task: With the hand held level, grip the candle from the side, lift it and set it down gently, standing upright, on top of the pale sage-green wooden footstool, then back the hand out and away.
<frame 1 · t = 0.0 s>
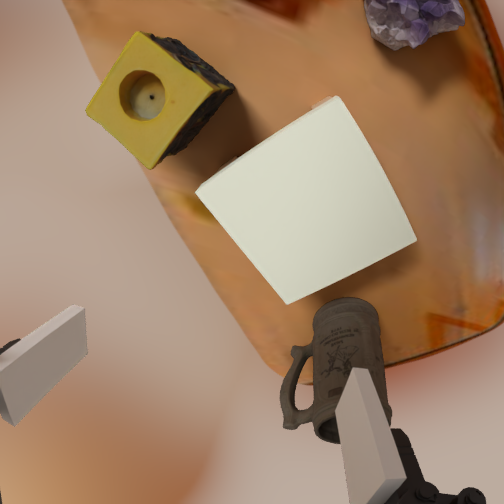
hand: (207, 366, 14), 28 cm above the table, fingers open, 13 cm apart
footstool: (309, 183, 37), on the table
beer stein: (332, 326, 49), on the table
candle: (180, 93, 34), on the table
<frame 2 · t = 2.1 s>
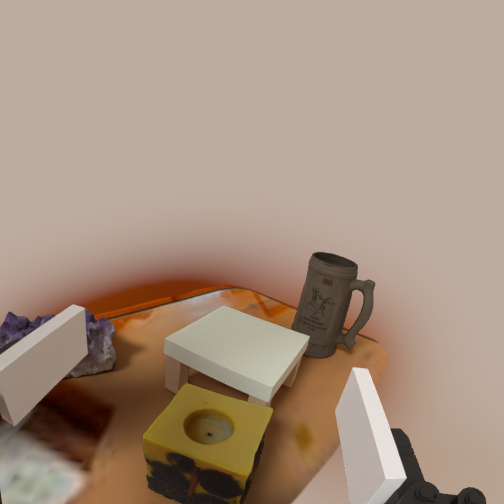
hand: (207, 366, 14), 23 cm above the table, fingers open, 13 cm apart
footstool: (233, 385, 47), on the table
beer stein: (321, 349, 63), on the table
candle: (205, 478, 29), on the table
geode: (57, 366, 41), on the table
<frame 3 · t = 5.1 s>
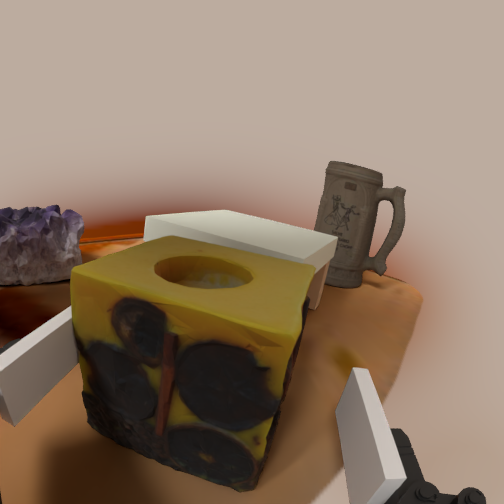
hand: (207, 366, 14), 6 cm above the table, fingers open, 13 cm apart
footstool: (239, 304, 36), on the table
beer stein: (344, 282, 53), on the table
candle: (195, 416, 18), on the table
geode: (7, 277, 30), on the table
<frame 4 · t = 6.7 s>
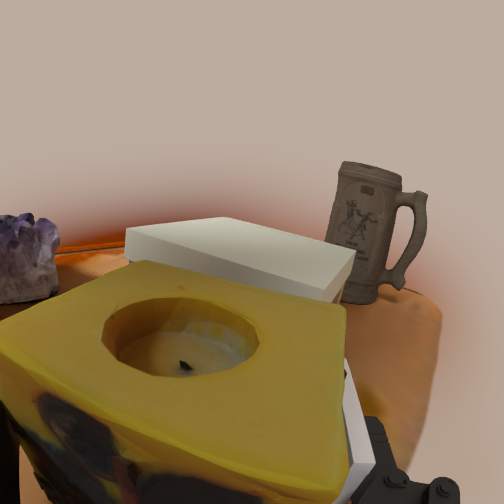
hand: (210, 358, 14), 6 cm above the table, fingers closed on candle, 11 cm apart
footstool: (240, 330, 30), on the table
beer stein: (357, 296, 47), on the table
candle: (183, 491, 12), on the table, touching gripper
when the fingers open (16 cm above the table, at t = 12.8 s): candle drops 1 cm, resting on footstool.
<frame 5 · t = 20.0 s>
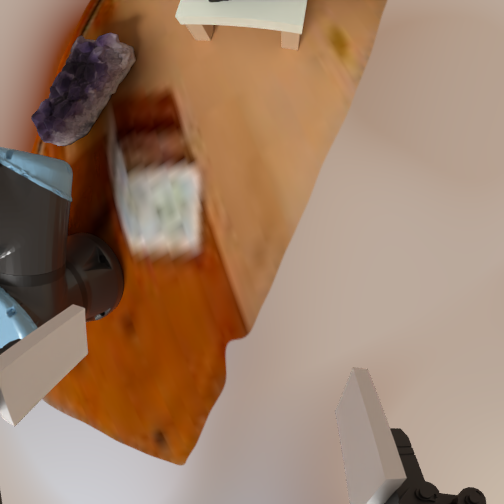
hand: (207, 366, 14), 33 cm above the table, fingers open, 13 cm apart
footstool: (254, 3, 37), on the table
geode: (93, 94, 43), on the table
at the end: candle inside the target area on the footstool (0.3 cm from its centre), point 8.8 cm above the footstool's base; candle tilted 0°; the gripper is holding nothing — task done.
